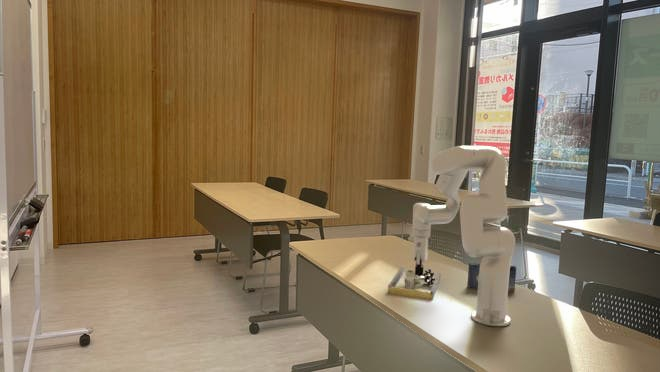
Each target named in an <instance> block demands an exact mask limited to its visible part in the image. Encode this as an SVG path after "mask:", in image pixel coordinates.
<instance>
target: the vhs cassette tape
mask: <svg viewBox="0 0 660 372" xmlns="http://www.w3.org/2000/svg"><path fill="white" fill-rule="evenodd" d="M480 264H481V263H475V262H474V263H473V262H468V272H467V282H466V283H467V284H466V285H467V288H468V289H471V290H478V282H479V269H480ZM516 275H517V267H516V266H515V265H510V273H509V284H508V292H515V289H516V277H517V276H516Z"/></svg>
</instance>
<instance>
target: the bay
mask: <svg viewBox="0 0 660 372" xmlns="http://www.w3.org/2000/svg"><path fill="white" fill-rule="evenodd" d="M441 273H442V272H441V271H438V272H437V274H436V276H435V280H434V281H433V285H432V287H431V289H430V291H425V290H419V289H413V288H411V289H409V288H404V287H397V284H398V282H399V281H400V279H401V278H402V276H403V275H404V267H403V266H402V267H400V268H399V269H398V271H397V272H396V274H395V275H394V277H393V278H392V280H391V281H390V282H389V284H388V285H387V294H391V295H396V296H397V295H398V296H404V297H411V298H418V299H427V300H433V299H434V297H435V295H436V291H437V289H438V286H439V283H440V280H441ZM433 301H434V300H433Z"/></svg>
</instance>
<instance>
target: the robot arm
mask: <svg viewBox="0 0 660 372" xmlns="http://www.w3.org/2000/svg"><path fill="white" fill-rule="evenodd" d="M431 170H432V171H433V173H434V174H436V175H438V176H439V177H438V178H437V181H436V183H435V187H436V188H437V190H438V192H440V193H441V194H443V195H444V196H446V197H447V200H446V202H445V203H444V204H433V205H432V204H430V203H427V202H416V203H414V204H413V206H412V207H413V209H412V227H411V236H412V238H414V239H413V240H414V241H413V261H415V269H414V272H415V274H414V275H418V276H423V274H424V263H425V262H426V261H427V259H428V257H429V256H428V255H429V251H428V250H429V238H431V230H432V229H431V227H432V225H443V224H450V223H451V222H452V221H453V220H454V219H455V217H456V216H457V213H458V212H459V221H460V222H459V223H460V232H461V233H460V234H461V242H462V243H461V244H462V248H463V250H464V252H465V254H466V255H467V256H469V257H471V258H482V260H481V262H480V263H479V264H480V269H479V282H478V289H477V295H476V296H477V298H476V309H475V310H473V311H472V312H471V315H470V317H471V319H472V320H474V321H475V322H477V323H479V324H482V325H485V326H491V327H505V326H509V325H510V324H511V317H510V316H509V315H508V314H507V306H508V297H509V296H508V295H509V293H508V292H509V291H508V284H509V273H510V266H511V263H512V258H513V255H514V252H515V248H516V236H515V234H514V233H513V232H512V230H510V229H509V228H507V227H504V226H486V227H484V224H492V223H494V224H495V223H500V222H503V221H505V219H507V217H508V198H507V186H506V170H507V162H506V157H505V155H504V153H503V152H502V151H501V150H500V149H498V148H496V147H492V146H486V145H485V146H484V145H457V146H456V145H455V146H453V147H450V148H448V149H444V150H441V151H439V152H437V153H436V154H435V155H434V157H433V158H432V161H431ZM469 171H470V172H473V171H474V172H475V171H476V172H477V171H478V172H479V171H481V174H480V177H479V180H478V194H477V193H476V194H468V195H467V196H465V197H464V198H463V199H462V201H461V202H460V200H461V199H460V195H459V192H458V191H459V190H460V187H461V186H462V184H463V182H464V180H465V178H466V176H467V174H468V172H469ZM423 277H424V276H423Z"/></svg>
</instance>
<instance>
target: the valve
mask: <svg viewBox="0 0 660 372" xmlns="http://www.w3.org/2000/svg"><path fill="white" fill-rule="evenodd" d="M434 275H435V273H434V272H432V269H431V268H430V269H429V268H428V269H425V270H424V272H423V276H418V275H415V270H412V269H411V270H410V269H408V270H407V269H406V270H405V276H404V277H403V278H404V287H405V289H414V288H415V287H414V286H415V283H419V282H420V281H424V283H426V285H427V286H431V285H432V286H433V284H434V281H435V279H436V277H434Z"/></svg>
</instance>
